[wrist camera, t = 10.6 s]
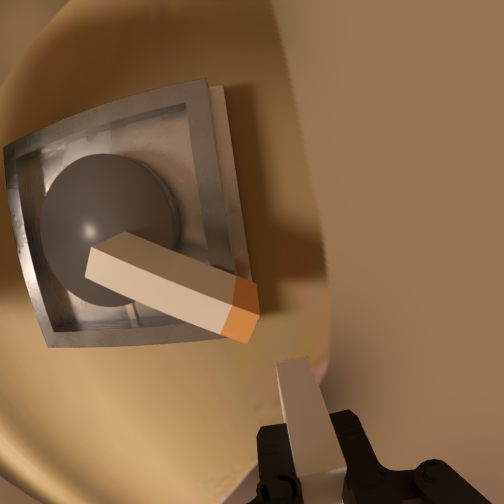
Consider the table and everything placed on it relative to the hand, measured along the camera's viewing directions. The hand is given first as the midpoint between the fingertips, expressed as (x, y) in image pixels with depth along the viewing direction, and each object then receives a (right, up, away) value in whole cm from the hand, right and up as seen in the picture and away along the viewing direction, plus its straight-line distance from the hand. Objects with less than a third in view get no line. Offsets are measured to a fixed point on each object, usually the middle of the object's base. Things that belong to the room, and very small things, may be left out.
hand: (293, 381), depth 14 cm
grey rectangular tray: (-13, +8, +9) cm, 18 cm away
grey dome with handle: (-10, +7, +8) cm, 15 cm away
